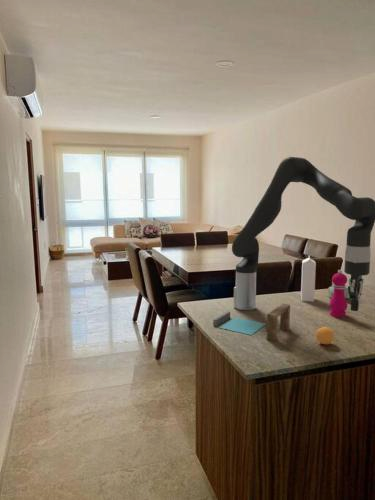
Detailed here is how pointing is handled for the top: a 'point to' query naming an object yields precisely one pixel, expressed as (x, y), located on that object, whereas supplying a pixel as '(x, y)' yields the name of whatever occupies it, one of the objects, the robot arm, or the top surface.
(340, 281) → the pepper mill
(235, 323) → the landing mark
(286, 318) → the bridge
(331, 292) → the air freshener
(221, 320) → the stopper
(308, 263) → the milk
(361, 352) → the top surface
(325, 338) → the ball
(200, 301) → the top surface
